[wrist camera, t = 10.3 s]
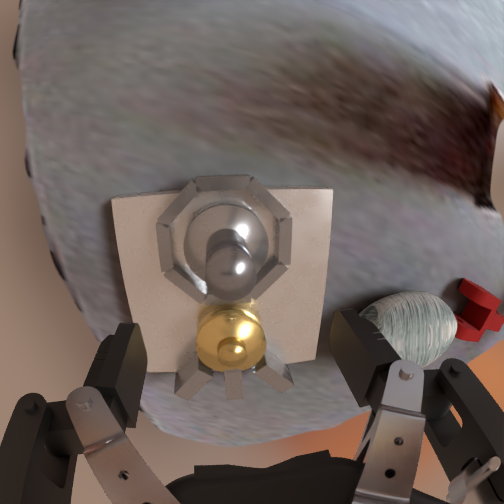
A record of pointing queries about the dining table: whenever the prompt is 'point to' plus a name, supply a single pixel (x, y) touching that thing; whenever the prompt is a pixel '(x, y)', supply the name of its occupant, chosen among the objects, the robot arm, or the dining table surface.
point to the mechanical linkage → (477, 312)
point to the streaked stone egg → (414, 324)
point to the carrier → (217, 310)
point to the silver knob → (226, 248)
